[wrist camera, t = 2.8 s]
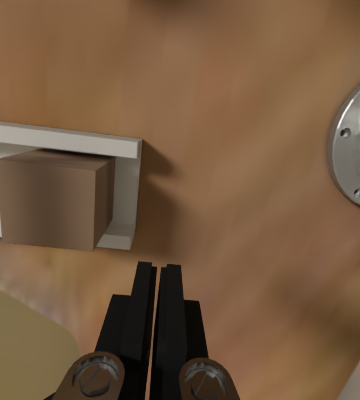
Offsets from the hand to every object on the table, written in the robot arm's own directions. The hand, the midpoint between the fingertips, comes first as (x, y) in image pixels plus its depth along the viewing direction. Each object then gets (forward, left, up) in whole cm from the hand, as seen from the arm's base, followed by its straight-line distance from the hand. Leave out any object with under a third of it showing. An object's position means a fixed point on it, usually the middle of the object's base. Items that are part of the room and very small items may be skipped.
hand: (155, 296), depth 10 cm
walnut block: (+8, 0, -14) cm, 16 cm away
